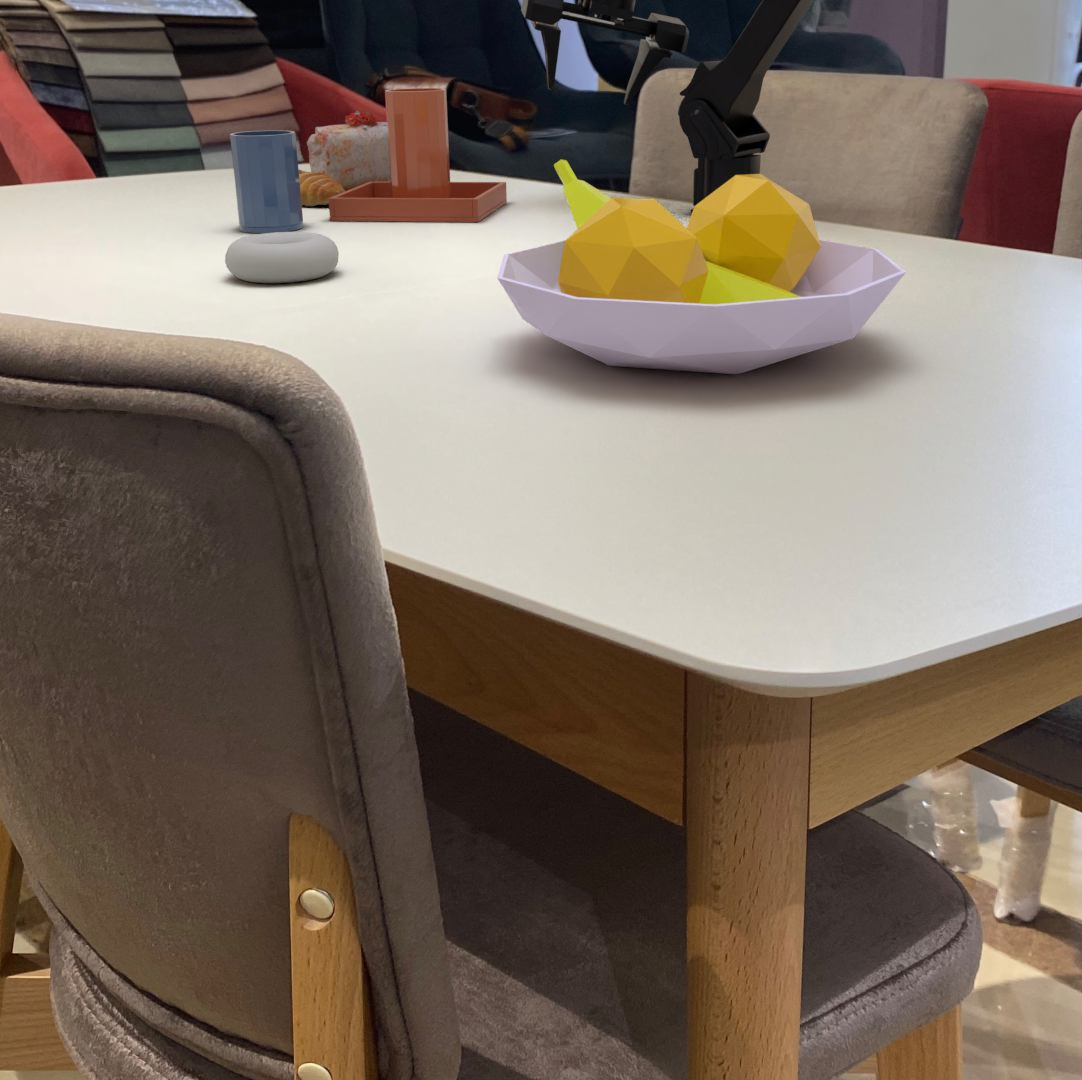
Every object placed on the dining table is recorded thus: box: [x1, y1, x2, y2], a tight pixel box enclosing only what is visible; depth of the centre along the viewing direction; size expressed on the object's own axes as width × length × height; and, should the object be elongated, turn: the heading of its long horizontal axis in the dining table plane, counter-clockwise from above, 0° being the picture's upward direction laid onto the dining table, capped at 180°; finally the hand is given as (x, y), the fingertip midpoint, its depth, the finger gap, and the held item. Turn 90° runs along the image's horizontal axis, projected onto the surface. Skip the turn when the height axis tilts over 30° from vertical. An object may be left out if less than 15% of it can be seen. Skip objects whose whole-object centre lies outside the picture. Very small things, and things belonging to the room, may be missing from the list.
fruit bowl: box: [497, 158, 907, 376], centre depth 87 cm, size 28×27×11 cm
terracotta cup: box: [384, 87, 451, 198], centre depth 149 cm, size 7×7×13 cm
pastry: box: [299, 169, 345, 208], centre depth 159 cm, size 9×7×4 cm
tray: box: [328, 181, 508, 223], centre depth 151 cm, size 17×15×2 cm
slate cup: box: [229, 129, 304, 234], centre depth 140 cm, size 7×7×10 cm
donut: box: [224, 231, 340, 284], centre depth 115 cm, size 10×4×10 cm
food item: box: [306, 110, 390, 191], centre depth 170 cm, size 14×8×10 cm, turn 110°
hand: (588, 96), depth 151 cm, fingers open, 9 cm apart
